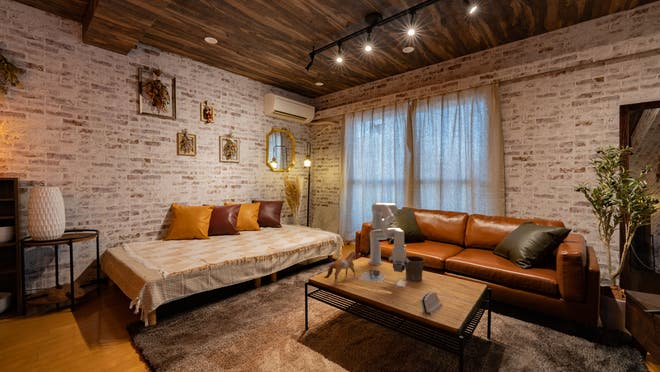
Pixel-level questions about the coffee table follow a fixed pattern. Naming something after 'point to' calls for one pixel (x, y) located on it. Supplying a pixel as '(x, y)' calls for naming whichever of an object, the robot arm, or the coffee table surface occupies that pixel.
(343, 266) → the horse figurine
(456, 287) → the coffee table surface
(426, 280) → the coffee table surface
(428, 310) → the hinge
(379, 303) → the coffee table surface
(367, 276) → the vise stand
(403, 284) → the pad
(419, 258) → the plant pot
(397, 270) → the collar
